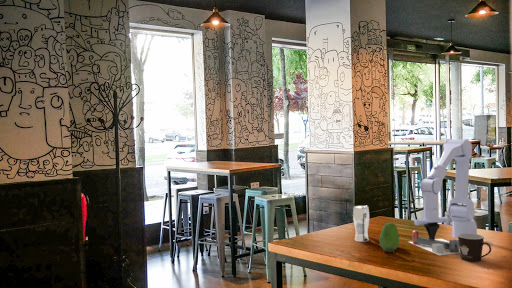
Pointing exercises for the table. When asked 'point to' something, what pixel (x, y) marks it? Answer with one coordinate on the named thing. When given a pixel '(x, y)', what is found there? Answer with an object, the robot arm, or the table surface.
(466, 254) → the coffee mug
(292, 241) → the table surface
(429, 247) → the white flat block
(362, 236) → the beer glass
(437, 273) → the table surface
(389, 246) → the avocado
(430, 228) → the robot arm
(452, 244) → the lever
